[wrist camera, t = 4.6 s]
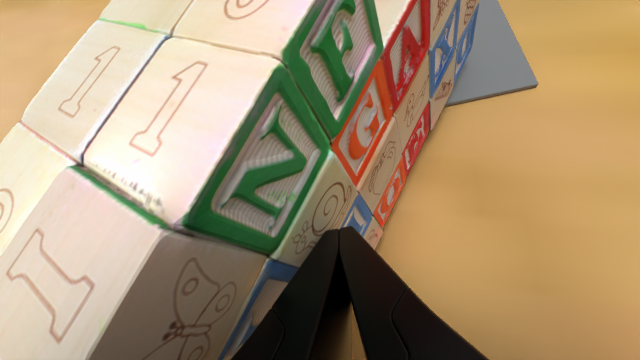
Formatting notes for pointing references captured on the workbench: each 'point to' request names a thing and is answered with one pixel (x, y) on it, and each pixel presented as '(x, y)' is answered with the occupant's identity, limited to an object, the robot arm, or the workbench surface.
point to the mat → (492, 60)
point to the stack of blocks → (208, 165)
